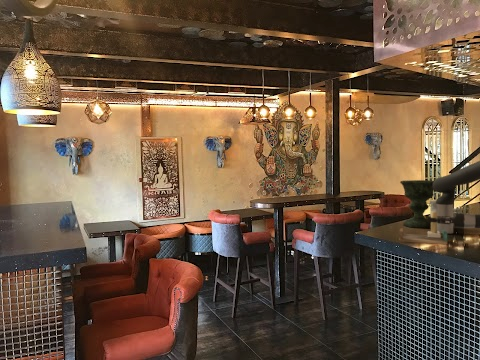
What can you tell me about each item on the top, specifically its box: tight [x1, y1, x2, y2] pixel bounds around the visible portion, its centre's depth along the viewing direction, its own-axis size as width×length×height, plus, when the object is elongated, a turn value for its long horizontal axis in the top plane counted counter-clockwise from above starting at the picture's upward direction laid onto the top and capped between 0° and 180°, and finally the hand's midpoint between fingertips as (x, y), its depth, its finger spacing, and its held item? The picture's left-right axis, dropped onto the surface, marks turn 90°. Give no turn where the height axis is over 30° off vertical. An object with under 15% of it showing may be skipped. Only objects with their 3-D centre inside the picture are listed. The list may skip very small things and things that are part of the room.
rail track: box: [399, 228, 448, 245], centre depth 216 cm, size 10×23×6 cm, turn 66°
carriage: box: [427, 212, 442, 238], centre depth 213 cm, size 7×6×13 cm
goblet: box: [399, 179, 435, 229], centre depth 262 cm, size 22×23×30 cm
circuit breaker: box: [428, 199, 455, 217], centre depth 277 cm, size 8×14×15 cm, turn 89°
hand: (428, 219), depth 214 cm, fingers closed on carriage, 3 cm apart
